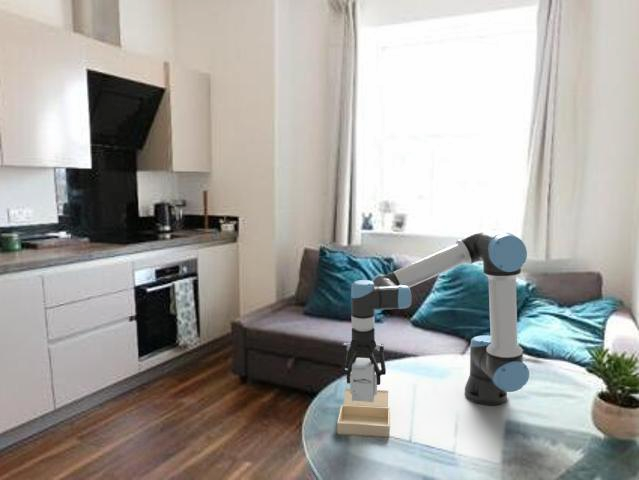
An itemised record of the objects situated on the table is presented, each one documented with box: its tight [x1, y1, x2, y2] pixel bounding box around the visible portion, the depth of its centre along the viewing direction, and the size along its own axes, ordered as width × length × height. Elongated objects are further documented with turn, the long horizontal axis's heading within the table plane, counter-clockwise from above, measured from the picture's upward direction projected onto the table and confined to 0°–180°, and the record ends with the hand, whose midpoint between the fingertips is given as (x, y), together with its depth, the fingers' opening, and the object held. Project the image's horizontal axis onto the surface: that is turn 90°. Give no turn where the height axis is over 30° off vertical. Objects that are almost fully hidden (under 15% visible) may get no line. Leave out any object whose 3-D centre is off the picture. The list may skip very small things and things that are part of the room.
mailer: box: [336, 404, 391, 438], centre depth 162 cm, size 17×12×4 cm
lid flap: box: [343, 388, 389, 407], centre depth 172 cm, size 16×8×1 cm, turn 81°
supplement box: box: [351, 357, 375, 402], centre depth 160 cm, size 7×7×13 cm
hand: (363, 392), depth 161 cm, fingers closed on supplement box, 7 cm apart
